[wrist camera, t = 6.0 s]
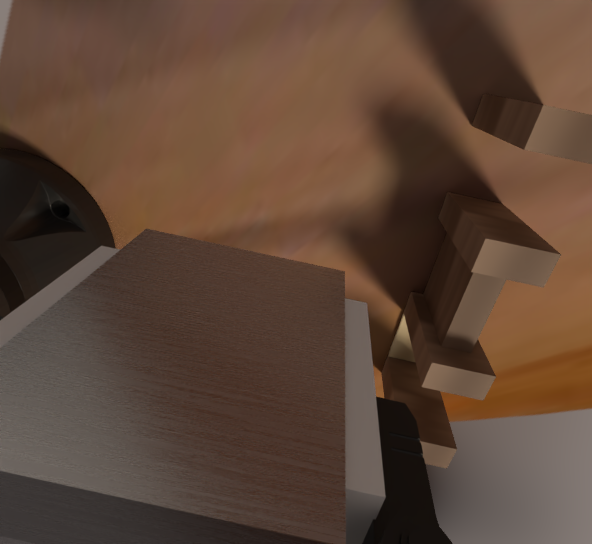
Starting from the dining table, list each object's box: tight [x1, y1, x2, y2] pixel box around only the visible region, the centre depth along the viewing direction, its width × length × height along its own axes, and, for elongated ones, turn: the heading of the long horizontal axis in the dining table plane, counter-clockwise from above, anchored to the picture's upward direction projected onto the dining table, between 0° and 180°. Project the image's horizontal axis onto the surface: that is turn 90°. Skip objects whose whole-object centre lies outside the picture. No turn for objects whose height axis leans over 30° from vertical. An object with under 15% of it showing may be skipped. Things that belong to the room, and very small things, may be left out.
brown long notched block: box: [382, 94, 592, 468], centre depth 28 cm, size 4×24×9 cm, turn 169°
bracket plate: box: [0, 229, 346, 544], centre depth 10 cm, size 7×3×10 cm, turn 79°
